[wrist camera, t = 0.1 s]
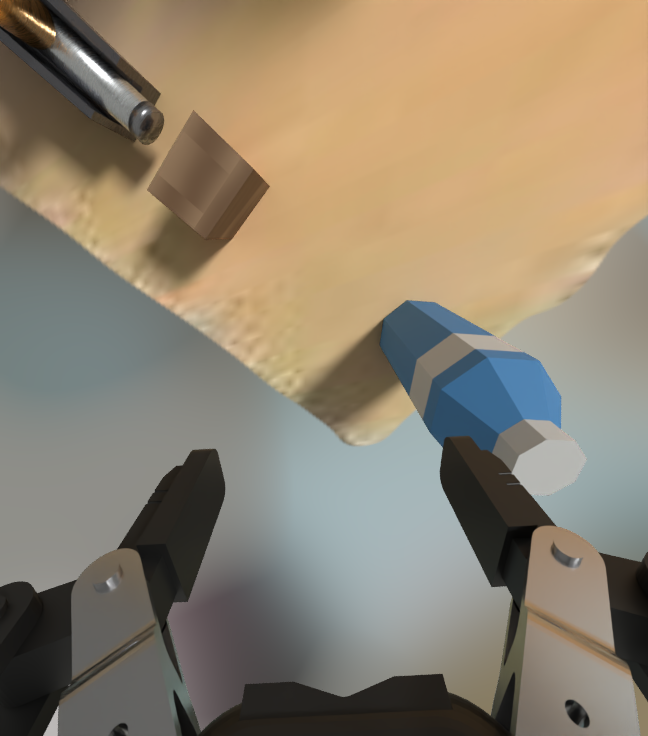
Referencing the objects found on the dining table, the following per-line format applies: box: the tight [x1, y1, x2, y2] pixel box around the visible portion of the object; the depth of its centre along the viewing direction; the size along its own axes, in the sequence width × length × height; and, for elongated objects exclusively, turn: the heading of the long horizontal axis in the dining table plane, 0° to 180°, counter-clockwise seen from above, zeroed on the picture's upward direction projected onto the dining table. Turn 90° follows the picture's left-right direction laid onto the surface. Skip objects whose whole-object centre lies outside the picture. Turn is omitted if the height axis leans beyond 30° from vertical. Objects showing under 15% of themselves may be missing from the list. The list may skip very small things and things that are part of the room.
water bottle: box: [380, 300, 587, 496], centre depth 28 cm, size 9×9×25 cm
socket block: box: [147, 110, 270, 240], centre depth 29 cm, size 6×7×9 cm
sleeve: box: [0, 0, 161, 142], centre depth 25 cm, size 15×5×6 cm, turn 48°
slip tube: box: [0, 0, 164, 145], centre depth 21 cm, size 16×3×10 cm, turn 48°
